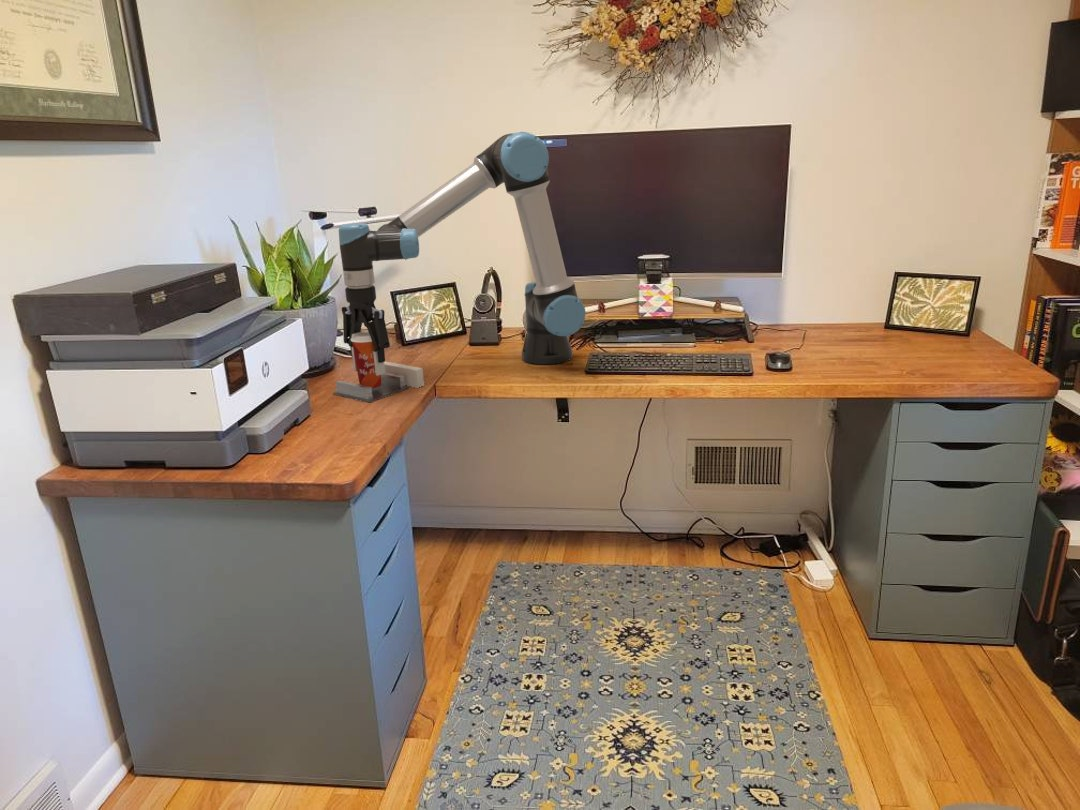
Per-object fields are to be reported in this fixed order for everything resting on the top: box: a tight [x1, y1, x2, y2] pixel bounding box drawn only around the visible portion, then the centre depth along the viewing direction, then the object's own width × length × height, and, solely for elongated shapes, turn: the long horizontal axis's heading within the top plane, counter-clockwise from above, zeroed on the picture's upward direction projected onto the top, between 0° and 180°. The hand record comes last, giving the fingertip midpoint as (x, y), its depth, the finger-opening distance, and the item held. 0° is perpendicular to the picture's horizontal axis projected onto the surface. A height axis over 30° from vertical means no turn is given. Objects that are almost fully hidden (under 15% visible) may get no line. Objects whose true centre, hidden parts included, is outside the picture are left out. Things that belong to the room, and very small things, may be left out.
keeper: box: [332, 372, 410, 403], centre depth 204 cm, size 14×14×4 cm
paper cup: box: [351, 330, 381, 388], centre depth 202 cm, size 8×8×14 cm
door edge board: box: [384, 360, 425, 389], centre depth 211 cm, size 18×2×5 cm, turn 54°
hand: (369, 371), depth 203 cm, fingers closed on paper cup, 8 cm apart
